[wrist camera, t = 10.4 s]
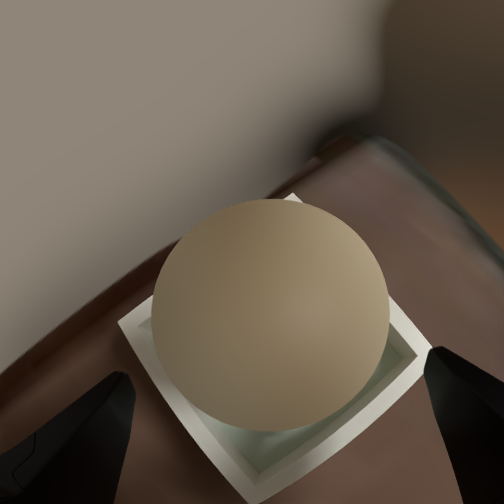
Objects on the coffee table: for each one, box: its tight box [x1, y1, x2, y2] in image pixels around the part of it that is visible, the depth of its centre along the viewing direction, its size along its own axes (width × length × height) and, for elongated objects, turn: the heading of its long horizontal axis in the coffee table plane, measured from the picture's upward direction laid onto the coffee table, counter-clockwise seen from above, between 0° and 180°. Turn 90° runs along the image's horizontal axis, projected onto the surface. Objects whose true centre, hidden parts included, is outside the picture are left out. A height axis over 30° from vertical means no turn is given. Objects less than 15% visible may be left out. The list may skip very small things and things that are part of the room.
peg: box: [151, 199, 390, 432], centre depth 11 cm, size 4×4×13 cm
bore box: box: [118, 193, 432, 504], centre depth 15 cm, size 11×11×4 cm
